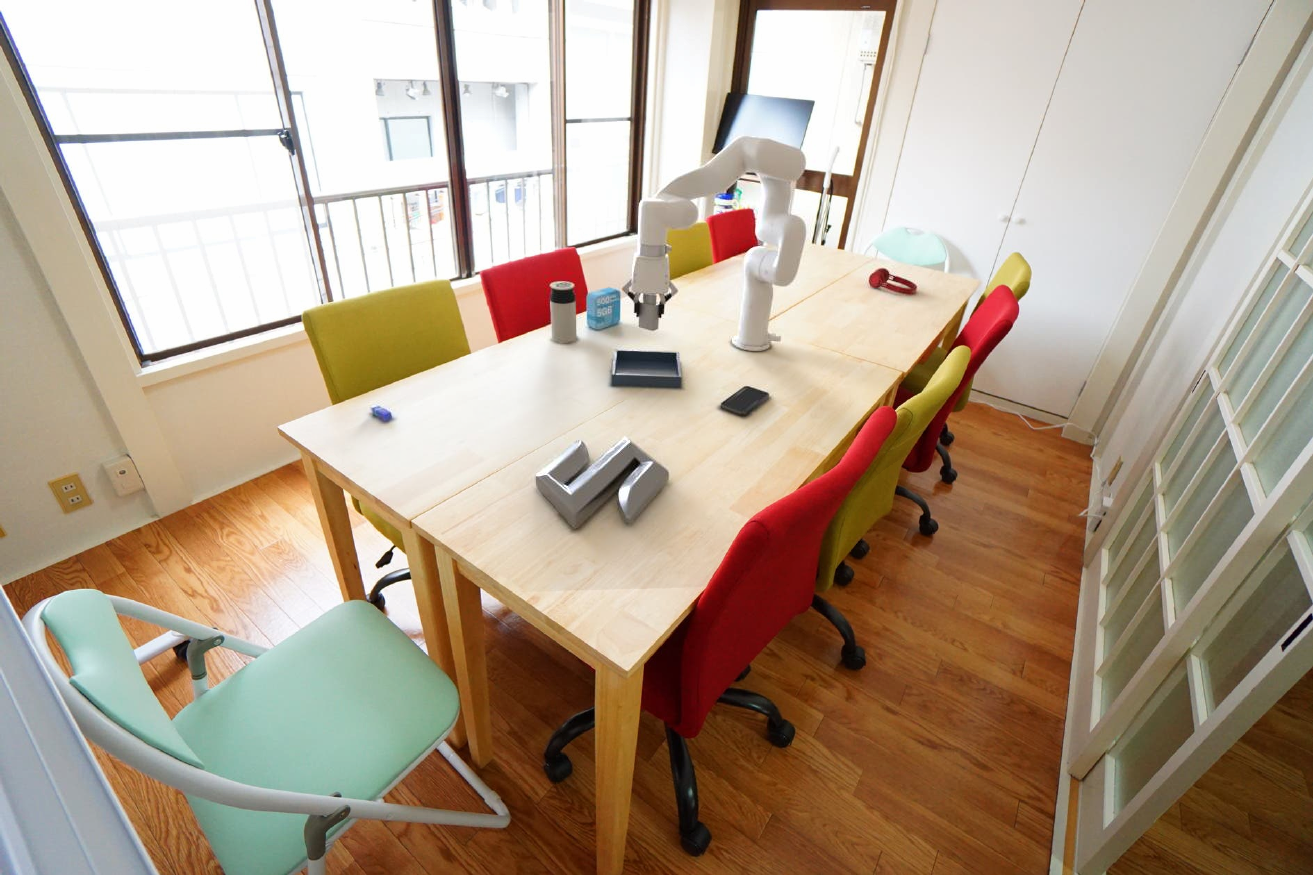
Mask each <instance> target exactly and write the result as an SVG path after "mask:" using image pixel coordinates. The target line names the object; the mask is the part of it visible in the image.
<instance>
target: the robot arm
mask: <svg viewBox="0 0 1313 875" xmlns="http://www.w3.org/2000/svg"><path fill="white" fill-rule="evenodd" d="M806 166H807V158H806V155H805V154H804V152H803V151H802V150H801V149H800V148H798V147H794V146H792V145H789V144H786V143H782V142H779V141H777V140H773V139H770V138H767V137H761V136H753V135H740V136H738V137H736V138H735V139H733V140H732V141H731V142H730V143H729V144H728V145H726V146H725V147H724V148H722V150H720V151H719V152H718V153H717V154H716V155H715V156H714V157H712V158H711V159H710V160H709V161H708V162H706V163H705V164H704V165H703V166H700V167H697V168H694V169H692V170H690V171H688V172H686V173H683V174H682V175H681V174H680V175H679V176H676V177H675V178H673V179H672V180H670V181H669V182H668V183H667V184H665V185H664V186H663V187H662V188H661V189H660V190H658V191H657V193H656V194H655V195H654V196H653V197H652V198H650V197H649V198H644V199H641V200H640V202H639V204H638V218H637V220H638V222H637V248H636V249H637V252H635V253H634V255H633V259H632V266H631V267H632V268H631V277H630V279H629V280H627V281H626V282H625V284H623V285H622V287H621V290H622V291H623V293H625V294H626V295H627V296H628V298H629V299H631V301H632V302H633V314H635V317H636V318H639V301H640V296H641V294H643V293H646V294H656V295H658V296H659V302H658V303H659V319H662V316H663V315H665V306H666V305H665V304H666V303H667V302H668V301H669V300H670V299H672V297H674V296H675V295H676V294H677V293H678V292H679V290H678V288H677V286H676V285H675V284H674V283H673V282H672V280H670V257H669V254H668V253H670V252H672V249H673V247H672V245H668V244H667V241H668V230H681V231H683V230H688V229H691V228H692V227H693V226H694V225H695V224H696V223H697V221H698V219H699V209H698V206H697V205H696V203H695V202H694V201H693V200H695V199H700V198H707V197H708V198H709V197H715V196H718V195H721V194H723V193H725V192H726V191H728V189H730V188H731V187H732V186H733V185H734V184H735V183H737V181H739V180H740V179H741V178H742V177H743V176H744V175H746V174H747V173H754V174H755V175H756V176H757V178H758V180H759V183H760V186H761V197H760V202H759V208H758V213H757V217H756V223H755V231H754V232H755V236H756V238H757V239H758V240H759V241H761V242H763V243H765V244H768V245H771V246H774V247H777V248H778V249H773V248H770V247H767V246H762V245H759V246H753V247H752V248H749V250H748V251H747V252H746V254H745V255H744V259H743V291H742V297H741V298H742V299H741V306H740V315H739V320H738V321H739V322H738V329H737V335H734V336H733V337H732V340H731V343H732V345H733V346H734V347H736V348H738V349H741V350H744V351H749V352H762V351H765V350H768V349H769V348H770V347H771V343H772V342H781V341H782V336H781V335H777V334H776V333H769V325H770V324H769V323H770V318H771V311H772V306H773V299H774V286H777V287H781V288H784V287H787V286H789V285H791V284H792V283H793V282H794V281H795V279H796V276H797V274H798V271H799V268H800V263H801V259H802V254H803V252H804V246H805V242H806V239H807V238H806V237H807V225H806V223H805V221H804V219H803V218H802V217H800V216H798V215H795V214H793V213H789V209H790V203H791V198H792V188H791V183H792V182H795V181H797V180H799V179H800V178H801V177H802V176H803V174H804V172H805V170H806ZM773 285H774V286H773ZM630 287H631V289H630ZM669 290H670V291H669Z"/></svg>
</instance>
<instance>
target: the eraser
mask: <svg viewBox="0 0 1313 875" xmlns="http://www.w3.org/2000/svg"><path fill="white" fill-rule="evenodd" d="M369 409H370V412H371V414H373V415H374V416H376V417H378V418H379V419H382V420H383V421H385V422H387V421H390V420H392V419H393V415H392V412H391V411H389V410H388V409H386V408H384V407H382V406H380V405H378V404H375V405H372V406H370V408H369Z"/></svg>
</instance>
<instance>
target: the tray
mask: <svg viewBox="0 0 1313 875" xmlns="http://www.w3.org/2000/svg"><path fill="white" fill-rule="evenodd" d="M612 361H613V362H612V367H611V368H612V369H611V380H610V382H611V385H610V386H611V387H629V388H631V387H632V388H654V389H655V388H658V389H682V382H683V381H682V380H683V379H682V378H683V375H682V367H681V358H680V352H679V351H668V350H667V351H665V350H640V349H639V350H638V349H617V348H615V349H614V352H613V359H612Z"/></svg>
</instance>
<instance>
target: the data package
mask: <svg viewBox="0 0 1313 875" xmlns="http://www.w3.org/2000/svg"><path fill="white" fill-rule="evenodd" d="M620 321H621V291H620V290H618V289H616V288H613V287H610V286H609V287H604V288H602V289H597V290H594V291H591V292H588V293H587V294H586V325H587V326H588V327H589V328H592V329H594V330H596V331H598V330H599V331H600V330H602V329H605V328H608V327H612V326H614V325H617V324H619V323H620Z"/></svg>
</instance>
